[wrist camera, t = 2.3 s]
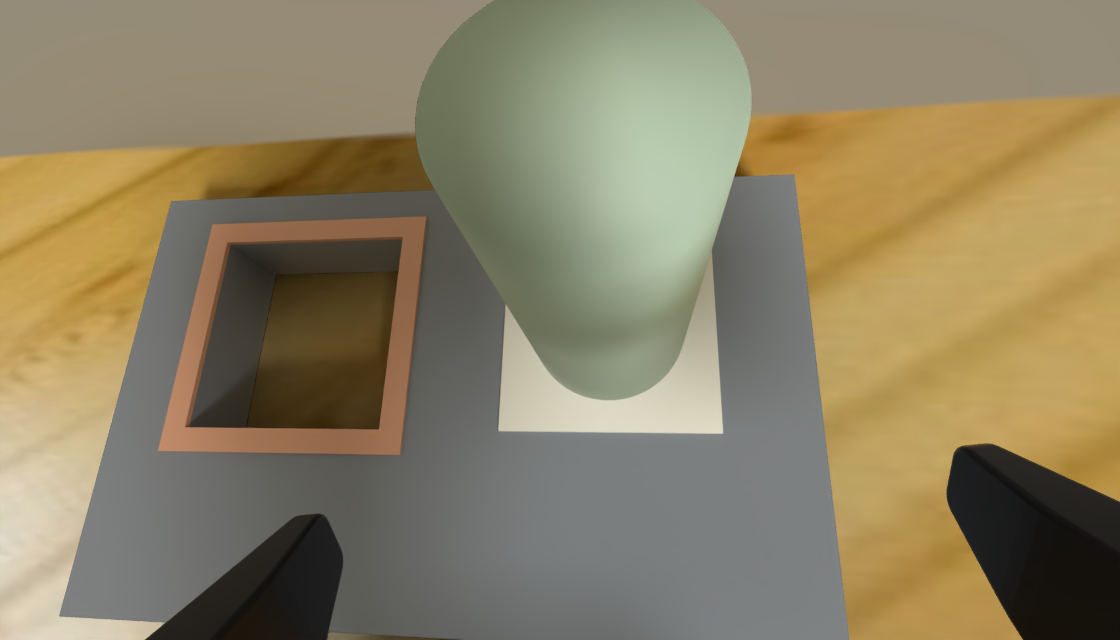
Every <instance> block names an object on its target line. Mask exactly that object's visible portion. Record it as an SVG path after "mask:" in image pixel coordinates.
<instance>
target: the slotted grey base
mask: <svg viewBox="0 0 1120 640" xmlns="http://www.w3.org/2000/svg"><path fill="white" fill-rule="evenodd" d="M394 271H399V272H398V280H397V288H396V296H395V304H394V312H393V320H392V328H391V336H390V344H389V352H388V360H387V368H386V376H385V384H384V392H383V400H382V409H381V417H380V425H379V429H294V428H246V425H247V420H248V415H249V410H250V404H251V399H252V394H253V389H254V384H255V379H256V374H257V369H258V364H259V359H260V354H261V348H262V343H263V338H264V333H265V328H266V323H267V318H268V313H269V308H270V303H271V298H272V293H273V287H274V282H275V277H276V274H313V273H353V272H394ZM315 513H320V514H323V515H325V516H326V517H327V519H328V521H329V523H330V525H331V527H332V529H333V532H334V534H335V536H336V538H337V540H338V543H339V545H340V547H341V549H342V553H343V570H342V574H341V579H340V583H339V588H338V592H337V597H336V601H335V605H334V610H333V614H332V619H331V623H330V628H329V632H339V633H356V634H373V635H390V636H408V637H425V638H442V639H460V640H849V633H848V625H847V617H846V608H845V600H844V591H843V583H842V574H841V566H840V557H839V549H838V540H837V532H836V523H835V515H834V506H833V498H832V489H831V481H830V472H829V464H828V455H827V447H826V438H825V430H824V422H823V413H822V405H821V396H820V388H819V379H818V371H817V362H816V354H815V345H814V337H813V328H812V320H811V311H810V303H809V294H808V286H807V277H806V269H805V260H804V252H803V243H802V235H801V227H800V218H799V210H798V201H797V193H796V184H795V176H794V174H791V175H768V176H745V177H734V179H733V182H732V185H731V188H730V192H729V195H728V198H727V202H726V205H725V208H724V211H723V215H722V218H721V221H720V225H719V228H718V231H717V234H716V238H715V241H714V244H713V248H712V251H711V254H710V257H709V261H708V264H707V267H706V271H705V274H704V277H703V280H702V284H701V287H700V290H699V294H698V297H697V300H696V303H695V307H694V310H693V313H692V317H691V320H690V323H689V326H688V330H687V333H686V336H685V340H684V343H683V346H682V349H681V352H680V354H679V357H678V359H677V361H676V362H675V364H674V366H673V367H672V369H671V370H670V371H669V373H668V374H667V375H666V376H665V377H664V378H663V379H662V380H661V381H660V382H659V383H657V384H656V385H655V386H653V387H652V388H650V389H648V390H647V391H645V392H643V393H641V394H638V395H636V396H633V397H629V398H626V399H620V400H597V399H591V398H587V397H584V396H581V395H579V394H576V393H574V392H572V391H570V390H569V389H567V388H565V387H564V386H563V385H561V384H560V383H559V382H557V381H556V380H555V379H554V378H553V377H552V376H551V375H550V373H549V372H548V371H547V369H546V368H545V367H544V365H543V363H542V362H541V360H540V359H539V357H538V355H537V354H536V352H535V350H534V349H533V347H532V346H531V344H530V342H529V341H528V339H527V338H526V336H525V334H524V333H523V331H522V330H521V328H520V326H519V325H518V323H517V321H516V320H515V318H514V317H513V315H512V313H511V312H510V310H509V309H508V307H507V305H506V304H505V302H504V301H503V299H502V297H501V296H500V294H499V292H498V291H497V289H496V288H495V286H494V284H493V283H492V281H491V280H490V278H489V276H488V275H487V273H486V272H485V270H484V268H483V267H482V265H481V263H480V262H479V260H478V259H477V257H476V255H475V254H474V252H473V251H472V249H471V247H470V246H469V244H468V242H467V241H466V239H465V238H464V236H463V234H462V233H461V231H460V230H459V228H458V226H457V225H456V223H455V222H454V220H453V218H452V217H451V215H450V213H449V212H448V210H447V209H446V207H445V205H444V204H443V202H442V201H441V199H440V197H439V196H438V194H437V193H436V191H435V190H419V191H396V192H373V193H350V194H326V195H303V196H280V197H257V198H233V199H210V200H187V201H171V205H170V208H169V212H168V216H167V219H166V223H165V227H164V230H163V234H162V238H161V242H160V245H159V249H158V253H157V256H156V260H155V264H154V267H153V271H152V275H151V279H150V282H149V286H148V290H147V293H146V297H145V301H144V304H143V308H142V312H141V316H140V319H139V323H138V327H137V330H136V334H135V338H134V341H133V345H132V349H131V353H130V356H129V360H128V364H127V367H126V371H125V375H124V378H123V382H122V386H121V390H120V393H119V397H118V401H117V404H116V408H115V412H114V415H113V419H112V423H111V426H110V430H109V434H108V438H107V441H106V445H105V449H104V452H103V456H102V460H101V463H100V467H99V471H98V475H97V478H96V482H95V486H94V489H93V493H92V497H91V500H90V504H89V508H88V512H87V515H86V519H85V523H84V526H83V530H82V534H81V537H80V541H79V545H78V549H77V552H76V556H75V560H74V563H73V567H72V571H71V574H70V578H69V582H68V586H67V589H66V593H65V597H64V600H63V604H62V608H61V611H60V615H59V616H61V617H79V618H96V619H113V620H131V621H148V622H165V623H166V622H167V621H168V620H169V619H171V618H172V617H173V616H174V615H176V614H177V613H178V612H179V611H180V610H182V609H183V608H184V607H185V606H186V605H188V604H189V603H190V602H191V601H192V600H194V599H195V598H196V597H197V596H199V595H200V594H201V593H202V592H203V591H205V590H206V589H207V588H208V587H209V586H211V585H212V584H213V583H214V582H215V581H217V580H218V579H219V578H220V577H222V576H223V575H224V574H225V573H226V572H228V571H229V570H230V569H231V568H232V567H234V566H235V565H236V564H237V563H238V562H240V561H241V560H242V559H243V558H245V557H246V556H247V555H248V554H249V553H251V552H252V551H253V550H254V549H255V548H257V547H258V546H259V545H260V544H261V543H263V542H264V541H265V540H266V539H267V538H269V537H270V536H271V535H272V534H274V533H275V532H276V531H277V530H278V529H280V528H281V527H282V526H283V525H284V524H286V523H287V522H288V521H289V520H291V519H292V518H293V517H295V516H299V515H306V514H315Z"/></svg>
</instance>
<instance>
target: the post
mask: <svg viewBox="0 0 1120 640" xmlns="http://www.w3.org/2000/svg"><path fill="white" fill-rule="evenodd" d="M751 101H752V97H751V87H750V79H749V75H748V71H747V68H746V64H745V61H744V59H743V57H742V55H741V52H740V50H739V48H738V46H737V44H736V42H735V41H734V39H733V38H732V36H731V35H730V33H729V32H728V30H727V29H726V28H725V27H724V26H723V24H722V23H721V22H720V21H719V20H718V19H717V18H716V17H715V16H714V15H713V14H712V13H711V12H710V11H708V10H707V9H706V8H705V7H704V6H702V5H701V4H700V3H698V2H697V1H695V0H494V1H492V2H491V3H489V4H488V5H486V6H485V7H483V8H482V9H481V10H479V11H478V12H476V13H475V14H474V15H473V16H472V17H470V18H469V19H468V20H467V21H466V22H464V23H463V24H462V25H461V26H460V27H459V28H458V29H457V30H456V31H455V32H454V33H453V34H452V35H451V37H450V38H449V39H448V40H447V41H446V43H445V44H444V45H443V47H442V48H441V49H440V51H439V52H438V54H437V55H436V57H435V59H434V60H433V62H432V64H431V66H430V67H429V69H428V72H427V74H426V76H425V79H424V81H423V83H422V87H421V91H420V94H419V97H418V101H417V109H416V117H415V132H416V142H417V147H418V153H419V157H420V159H421V162H422V165H423V168H424V171H425V173H426V175H427V177H428V178H429V180H430V182H431V184H432V186H433V188H434V189H435V191H436V193H437V194H438V196H439V197H440V199H441V201H442V202H443V204H444V205H445V207H446V209H447V210H448V212H449V213H450V215H451V217H452V218H453V220H454V222H455V223H456V225H457V226H458V228H459V230H460V231H461V233H462V234H463V236H464V238H465V239H466V241H467V242H468V244H469V246H470V247H471V249H472V251H473V252H474V254H475V255H476V257H477V259H478V260H479V262H480V263H481V265H482V267H483V268H484V270H485V272H486V273H487V275H488V276H489V278H490V280H491V281H492V283H493V284H494V286H495V288H496V289H497V291H498V292H499V294H500V296H501V297H502V299H503V301H504V302H505V304H506V305H507V307H508V309H509V310H510V312H511V313H512V315H513V317H514V318H515V320H516V321H517V323H518V325H519V326H520V328H521V330H522V331H523V333H524V334H525V336H526V338H527V339H528V341H529V342H530V344H531V346H532V347H533V349H534V350H535V352H536V354H537V355H538V357H539V359H540V360H541V362H542V363H543V365H544V367H545V368H546V369H547V371H548V372H549V373H550V375H551V376H552V377H553V378H554V379H555V380H556V381H557V382H559V383H560V384H561V385H563V386H564V387H565V388H567V389H569V390H570V391H572V392H574V393H576V394H579V395H581V396H584V397H587V398H591V399H597V400H620V399H626V398H629V397H633V396H636V395H638V394H641V393H643V392H645V391H647V390H648V389H650V388H652V387H653V386H655V385H656V384H657V383H659V382H660V381H661V380H662V379H663V378H664V377H665V376H666V375H667V374H668V373H669V371H670V370H671V369H672V367H673V366H674V364H675V362H676V361H677V359H678V357H679V354H680V352H681V349H682V346H683V343H684V340H685V336H686V333H687V330H688V326H689V323H690V320H691V317H692V313H693V310H694V307H695V303H696V300H697V297H698V294H699V290H700V287H701V284H702V280H703V277H704V274H705V271H706V267H707V264H708V261H709V257H710V254H711V251H712V248H713V244H714V241H715V238H716V234H717V231H718V228H719V225H720V221H721V218H722V215H723V211H724V208H725V205H726V202H727V198H728V195H729V192H730V188H731V185H732V182H733V179H734V175H735V172H736V169H737V166H738V162H739V159H740V156H741V152H742V149H743V146H744V143H745V139H746V135H747V131H748V127H749V122H750V118H751Z"/></svg>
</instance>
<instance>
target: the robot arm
mask: <svg viewBox="0 0 1120 640" xmlns="http://www.w3.org/2000/svg"><path fill="white" fill-rule="evenodd" d="M947 501H948V505H949V507H950V510H951V512H952V514H953V515H954V517H955V519H956V521H957V523H958V525H959V527H960V529H961V530H962V532H963V534H964V536H965V538H966V540H967V542H968V543H969V545H970V547H971V549H972V551H973V553H974V555H975V557H976V558H977V560H978V562H979V564H980V566H981V568H982V570H983V571H984V573H985V575H986V577H987V579H988V581H989V583H990V585H991V586H992V588H993V590H994V592H995V594H996V596H997V598H998V599H999V601H1000V603H1001V605H1002V606H1003V608H1004V610H1005V612H1006V613H1007V615H1008V617H1009V619H1010V620H1011V622H1012V623H1013V625H1014V626H1015V628H1016V630H1017V631H1018V633H1019V634H1020V636H1021V637H1022V639H1023V640H1120V502H1119V501H1117V500H1115V499H1113V498H1110V497H1108V496H1106V495H1104V494H1102V493H1100V492H1097V491H1095V490H1093V489H1091V488H1089V487H1086V486H1084V485H1082V484H1080V483H1078V482H1076V481H1073V480H1071V479H1069V478H1067V477H1065V476H1062V475H1060V474H1058V473H1056V472H1054V471H1051V470H1049V469H1047V468H1045V467H1043V466H1041V465H1038V464H1036V463H1034V462H1032V461H1030V460H1027V459H1025V458H1023V457H1021V456H1019V455H1017V454H1014V453H1012V452H1010V451H1008V450H1006V449H1003V448H1001V447H999V446H996V445H994V444H987V443H985V444H975V445H965V446H961V447H958V448H957V449H956V451H955V452H954V455H953V459H952V465H951V470H950V475H949V480H948V485H947ZM342 570H343V553H342V549H341V547H340V545H339V543H338V540H337V538H336V536H335V534H334V532H333V529H332V527H331V525H330V523H329V521H328V519H327V517H326V516H325V515H323V514H320V513H315V514H306V515H299V516H295V517H293V518H292V519H291V520H289V521H288V522H287V523H286V524H284V525H283V526H282V527H281V528H280V529H278V530H277V531H276V532H275V533H274V534H272V535H271V536H270V537H269V538H267V539H266V540H265V541H264V542H263V543H261V544H260V545H259V546H258V547H257V548H255V549H254V550H253V551H252V552H251V553H249V554H248V555H247V556H246V557H245V558H243V559H242V560H241V561H240V562H238V563H237V564H236V565H235V566H234V567H232V568H231V569H230V570H229V571H228V572H226V573H225V574H224V575H223V576H222V577H220V578H219V579H218V580H217V581H215V582H214V583H213V584H212V585H211V586H209V587H208V588H207V589H206V590H205V591H203V592H202V593H201V594H200V595H199V596H197V597H196V598H195V599H194V600H192V601H191V602H190V603H189V604H188V605H186V606H185V607H184V608H183V609H182V610H180V611H179V612H178V613H177V614H176V615H174V616H173V617H172V618H171V619H169V620H168V621H167V622H166V623H165V624H163V625H162V626H161V627H160V628H159V629H157V630H156V631H155V632H154V633H153V634H151V635H150V636H149V637H148V638H146V639H145V640H327V637H328V632H329V628H330V623H331V619H332V614H333V610H334V605H335V601H336V597H337V592H338V588H339V583H340V579H341V574H342Z"/></svg>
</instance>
